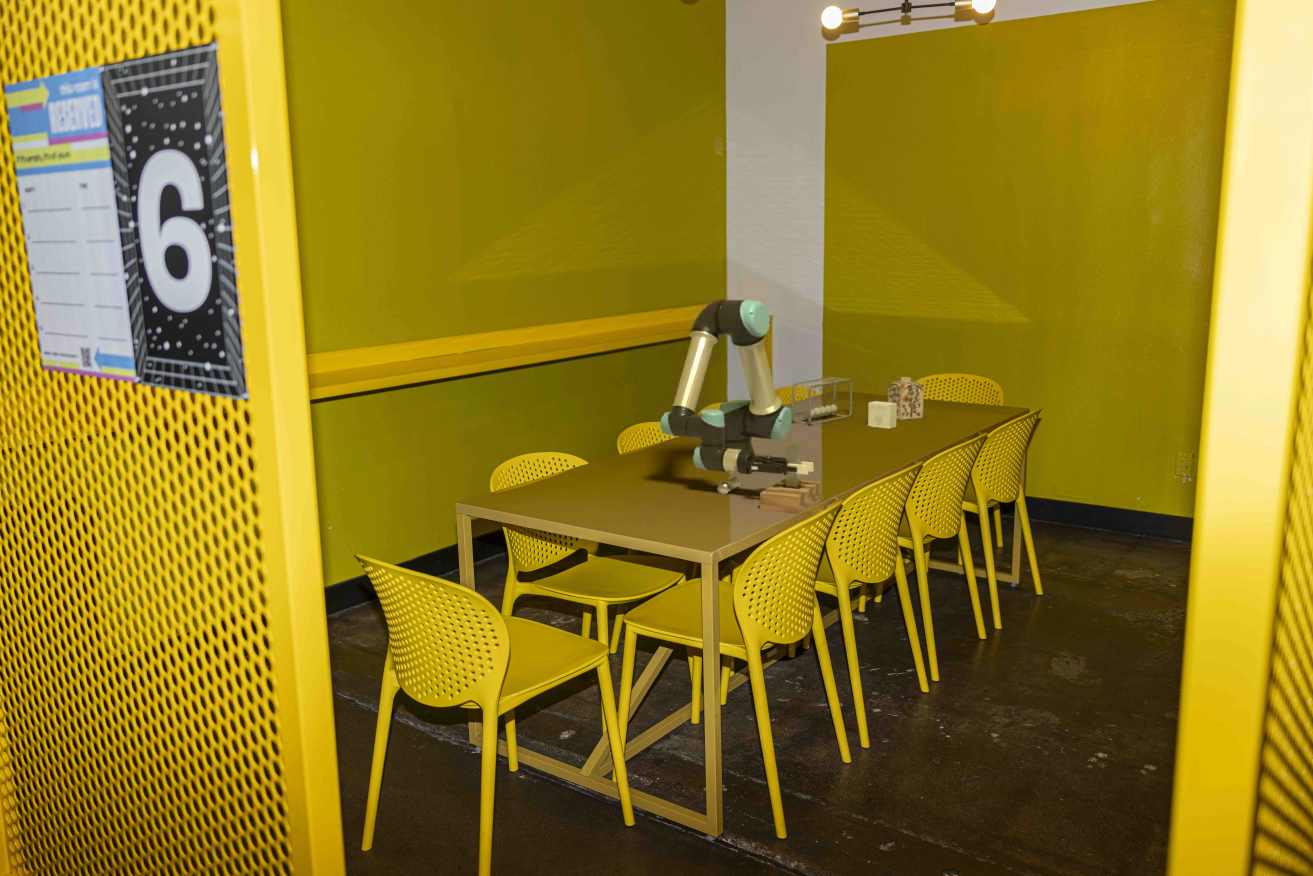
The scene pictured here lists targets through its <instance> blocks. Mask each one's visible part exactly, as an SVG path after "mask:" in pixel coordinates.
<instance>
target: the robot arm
mask: <svg viewBox="0 0 1313 876" xmlns="http://www.w3.org/2000/svg"><path fill="white" fill-rule="evenodd" d="M770 321H771V319H770V314H769V311H768V309H767V306H766V305H765V304H764V303H763V302H761V301H760V300H753V299H740V300H739V299H718V300H713V301H711V302H710V303H708V304H707V305H706V306H705V307H704V308H703V309H701V311H700V312H699V313H698V314H697V316H696V318H695V320H694V321H693V324H692V326H691V328H690V332H689V337H690V338H691V340H690V344H689V347H688V351H687V354H686V358H685V362H684V365H683V368H682V372H681V375H680V380H679V382H678V386H677V390H676V394H675V398H674V399H673V400H674V401H673V404H672V408H671V411H668V412H667V411H666V412H664V413H663V416H661V418H660V422H659V424H660V430H661V431H662V433H663V434H665V435H668V436H673V437H683V438H684V437H685V438H691V439H700V445H698V446H696V448H695V449H694V451H693V456H692V462H693V464H694V466H695V468H697V469H699V470H700V469H701V470H706V471H714V472H715V471H716V472H725V473H730V474H731V475H733V474H734V473H735V474H739V473H740V474H743V475H751V474H753V473H767V474H779V475H783V476H786V475H787V473H796V474H801V475H809V472H814V462H811V461H802V460H801V465H798V464H786V457H780V456H779V457H777V456H772V455H766V456H762V455H759V456H758V457H757V455H756V452H755V449H754V446H753V443H752V438H756V439H764V440H765V439H767V440H771V441H774V440H776V441H777V440H780V441H781V440H783V439H785V438H786V437H787V435H788V434H789V432H790V429H791V426H792V422H793V421H792V409H791V408H789V407H787V406H785V407H784V405H783V402H782V399H781V398H780V397H779V396H777V395H776V390H775V386H774V382H773V377H772V375H771V369H770V364H769V361H768V356H767V352H766V348H765V344H764V340H765V338H766V336H767V333H768V331H769V329H770ZM720 336H730V339H731V344H733V346H735V347H737V348H738V353H739V356H740V357H739V358H740V360H741V365H742V369H743V373H744V377H745V380H746V384H747V388H748V392H749V396H750V399H746V398H745V399H733V400H730V401H729V400H728V401H723V402H722V403H721V404H720V405H719V407H718V408H719V409H704V410H702V411H701V412H700V414H695V411H696V409H697V405H698V401H699V398H700V394H701V389H702V387H703V383H704V380H705V376H706V372H707V369H708V366H709V362H710V359H711V354H712V351H713V347H714V346H715V345H716V344H717V343H718V341H719V337H720Z"/></svg>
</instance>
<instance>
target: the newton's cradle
mask: <svg viewBox="0 0 1313 876" xmlns="http://www.w3.org/2000/svg"><path fill="white" fill-rule="evenodd" d="M845 382H849V413H848V414H847V415H844V414H838V413H837V414H836V412H837V411H838V406H837V404H836V402H837V400H836V398H837V397H836V396H837V395H836V394H837V389H838V387H837V386H838V384H839V383H845ZM831 385H832V386H831ZM853 385H854V384H853V379H852V378H839V377H835V376H828V377H822V378H817V379H811V380H805V381H799V382H794V383H793V384H792V385H791V386H792V387H791V413H792V421H791V422H792V423H794V422H797V423H799V422H798V421H802V420H807V422H806V423H807V424H806V425H810V426H814V425H813V424H817V425H820V424H819V423H821V424H825V423H824V422H826V423H829V421H831V422H834V420H835V421H839V420H838V419H840V420H843V419H842V418H844V419H848V418H847V417H849V418H850V417H851V416H852V414H853ZM796 386H804V387H805V386H806V387H807V388H808V392H807V395H808V409H807V411H806V412H805V413H806V416H807V417H806V418H799V419H795V391H796V390H795V389H796ZM823 386H824V388H827V386H830V387H829V389H830V390H829V391H832V389H833V391H832V392H833V394H832V392H829V394H830V395H829V396H830V398H829V399H828V398H826V396H824V398H823V400H826V402H830V400H831V398H832V401H831V403H832V404H831V405H830V404H826V405H825V406H824V403H825V402H823V404H822V402H819V401H820V400H818V402H817V403H818V404H819V403H821V404H820V405H821V406H820V407H819V406H815V408H813V407H812V406H813V402H812V400H814V401H815V404H817V403H816V401H817V400H815V397H816V395H815V394H816V393H815V392H816V391H813V398H812V390H815V389H816V388H817V387H818V389H819V392H821V391H822V388H821V387H823ZM832 387H833V388H832ZM824 395H827V390H824ZM832 396H833V397H832ZM818 398H819V399H822V397H821V394H819V395H818ZM827 399H828V400H827ZM829 415H830V416H837V417H833V418H830V419H824V420H819V421H816V422H812V420H814V419H813V418H816V419H819V418H818V417H821V418H825V417H824V416H826V417H830V416H829ZM801 424H805V421H802V423H801Z"/></svg>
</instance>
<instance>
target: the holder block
mask: <svg viewBox="0 0 1313 876" xmlns="http://www.w3.org/2000/svg"><path fill="white" fill-rule="evenodd" d="M821 488H822V482H821V481H815V480H814V481H813V480H803V479H801V488H800V489H793V488H786V477H785V478H783V479H782V480H780V481H778V482H777V483H775V484H772V485H771V486H770V487H768V488H766V489H765V490H763V491H761V492H760V494H759V501H760V502H759V503H760V506H759V509H760V510H765V509H766V511H775V512H783V513H791V514H799V513H800V512H802V511H804V510H805V509H806V508H808V507H809V506H810V505H812V504H813V503H815V502H817V501H818V500H819V499H821V498H822V497H821V496H822V489H821Z"/></svg>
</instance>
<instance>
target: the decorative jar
mask: <svg viewBox="0 0 1313 876" xmlns="http://www.w3.org/2000/svg"><path fill="white" fill-rule="evenodd" d="M924 391H925V389H924V387H923V386H922V385H921V383H920V382H918V381H916V380H912V377H910V376H908V377H907V376H901V377H900V380H895V381H893V382H892V383H891V384H890V385H889V386H888V387H887V402H890V403H897V420H899V421H906V420H919V419H920V420H921V419H923V418H924V393H925V392H924Z"/></svg>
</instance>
